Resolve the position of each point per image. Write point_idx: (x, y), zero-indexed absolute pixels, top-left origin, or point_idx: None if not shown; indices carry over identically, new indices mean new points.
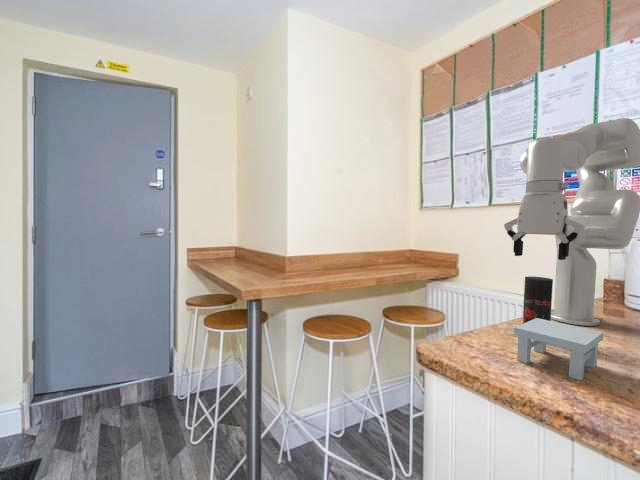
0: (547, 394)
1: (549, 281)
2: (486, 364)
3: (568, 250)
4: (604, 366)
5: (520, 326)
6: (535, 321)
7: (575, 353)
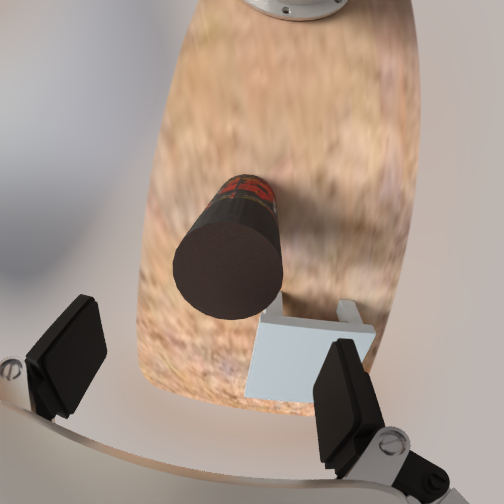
0: (297, 404)
1: (274, 298)
2: (226, 384)
3: (373, 398)
4: (363, 294)
5: (250, 389)
6: (264, 349)
7: None
